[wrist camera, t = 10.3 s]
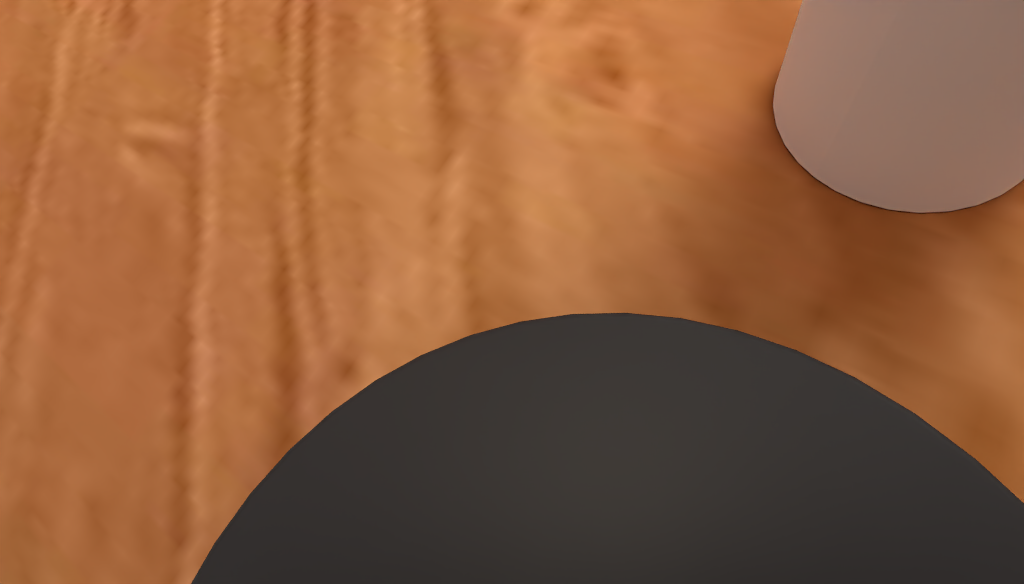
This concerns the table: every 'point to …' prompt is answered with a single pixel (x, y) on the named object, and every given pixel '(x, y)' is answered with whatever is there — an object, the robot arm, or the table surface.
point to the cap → (622, 472)
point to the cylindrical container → (906, 100)
